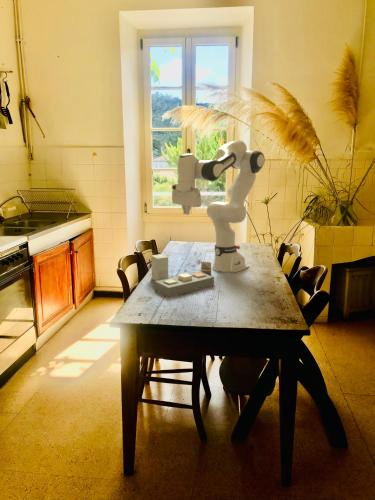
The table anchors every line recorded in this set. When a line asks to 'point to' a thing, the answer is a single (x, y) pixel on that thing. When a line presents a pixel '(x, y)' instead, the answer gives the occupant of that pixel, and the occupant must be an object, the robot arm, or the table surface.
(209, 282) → the console
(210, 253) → the table surface
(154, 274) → the small box
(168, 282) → the sage button
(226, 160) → the robot arm
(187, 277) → the cream button
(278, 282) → the table surface
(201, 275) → the rust button
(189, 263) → the table surface
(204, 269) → the architectural model
